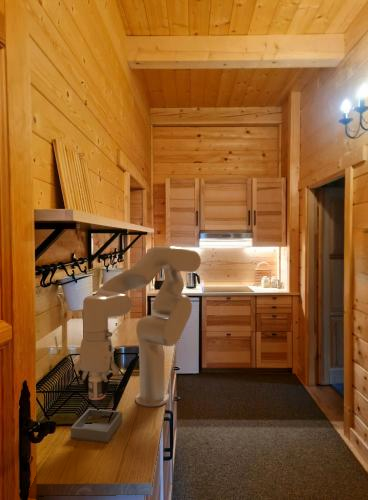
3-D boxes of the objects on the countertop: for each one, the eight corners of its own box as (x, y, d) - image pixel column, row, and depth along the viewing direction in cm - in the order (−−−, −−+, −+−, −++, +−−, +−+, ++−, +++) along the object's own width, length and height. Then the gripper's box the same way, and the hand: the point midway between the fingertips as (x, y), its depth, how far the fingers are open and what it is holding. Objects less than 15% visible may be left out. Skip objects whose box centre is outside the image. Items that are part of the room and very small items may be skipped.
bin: (88, 418, 116) (88, 408, 116) (122, 421, 114) (122, 411, 114) (70, 439, 105) (70, 427, 105) (107, 443, 102) (107, 431, 102)
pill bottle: (107, 392, 112) (106, 365, 112) (104, 400, 107) (103, 372, 106) (90, 392, 112) (90, 366, 111) (86, 400, 107) (86, 372, 106)
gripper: (125, 333, 110) (126, 388, 111) (76, 330, 113) (77, 384, 114) (116, 340, 103) (117, 399, 103) (64, 337, 106) (65, 394, 107)
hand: (96, 391), depth 109 cm, fingers closed on pill bottle, 5 cm apart
